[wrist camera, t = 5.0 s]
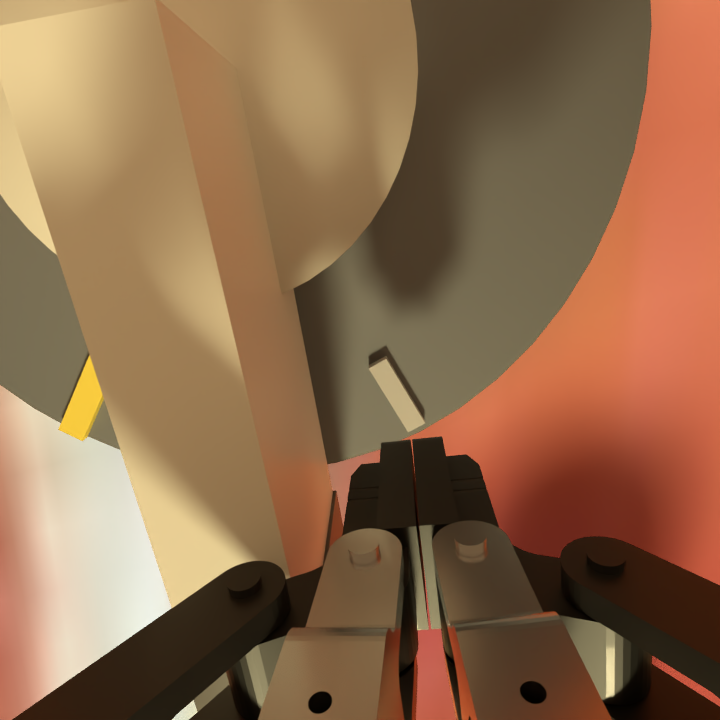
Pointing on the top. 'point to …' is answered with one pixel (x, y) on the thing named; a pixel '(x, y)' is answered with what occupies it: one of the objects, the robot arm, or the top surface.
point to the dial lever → (206, 238)
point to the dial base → (419, 228)
